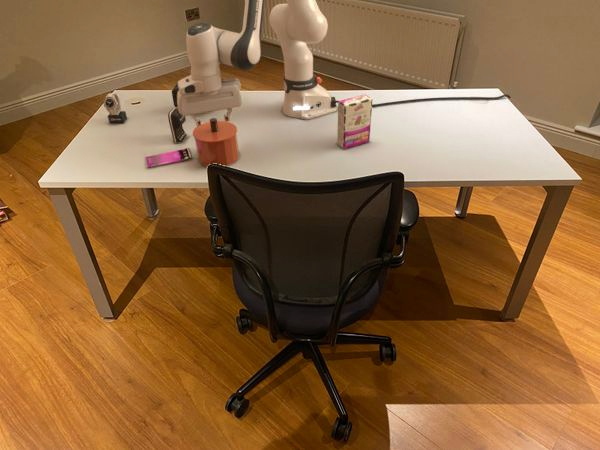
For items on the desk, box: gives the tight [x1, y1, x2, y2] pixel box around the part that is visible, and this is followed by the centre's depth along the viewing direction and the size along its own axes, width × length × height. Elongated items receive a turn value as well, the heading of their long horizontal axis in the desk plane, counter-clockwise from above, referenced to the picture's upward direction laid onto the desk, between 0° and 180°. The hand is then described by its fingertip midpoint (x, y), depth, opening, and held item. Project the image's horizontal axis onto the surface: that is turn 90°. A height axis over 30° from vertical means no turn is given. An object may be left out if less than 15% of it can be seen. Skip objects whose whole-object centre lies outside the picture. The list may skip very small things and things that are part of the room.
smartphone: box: [145, 147, 193, 169], centre depth 150 cm, size 7×15×1 cm, turn 111°
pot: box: [194, 133, 240, 167], centre depth 148 cm, size 14×14×10 cm
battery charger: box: [167, 107, 187, 144], centre depth 158 cm, size 7×4×11 cm, turn 171°
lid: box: [192, 117, 238, 143], centre depth 144 cm, size 15×15×5 cm
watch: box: [102, 92, 128, 124], centre depth 171 cm, size 6×8×11 cm
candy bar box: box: [336, 94, 373, 150], centre depth 152 cm, size 11×5×16 cm, turn 117°
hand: (213, 122), depth 143 cm, fingers open, 8 cm apart
